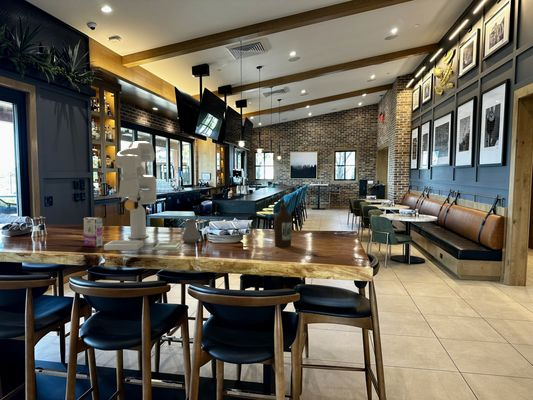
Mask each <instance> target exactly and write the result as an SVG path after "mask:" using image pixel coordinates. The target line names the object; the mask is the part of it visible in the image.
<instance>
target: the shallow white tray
mask: <svg viewBox="0 0 533 400" xmlns="http://www.w3.org/2000/svg"><path fill="white" fill-rule="evenodd" d="M144 245H145V241H144V240H138V239H134V240H133V239H131V240H111V241H109V242H107V243H105V244H103V249H104V251H138V250H139V249H141V248H143V247H144Z"/></svg>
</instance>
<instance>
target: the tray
mask: <svg viewBox="0 0 533 400" xmlns="http://www.w3.org/2000/svg"><path fill="white" fill-rule="evenodd" d="M181 246H182V244H181V243H180V242H159V243H157V244H156V245H155V246H153V248H152V249H151V250H152V251H161V250H162V251H164V250H165V251H166V250H168V251H169V250H171V251H172V250H173V251H174V250H176V251H177V250H179V248H180V247H181Z"/></svg>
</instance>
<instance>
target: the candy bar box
mask: <svg viewBox="0 0 533 400" xmlns="http://www.w3.org/2000/svg"><path fill="white" fill-rule="evenodd" d="M103 229H104V226H103V218H101V217H92V216H91V217H84V218H83V242H84V243H83V244H84V245H83V246H86V247H94V248H99V247H104V230H103Z"/></svg>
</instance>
